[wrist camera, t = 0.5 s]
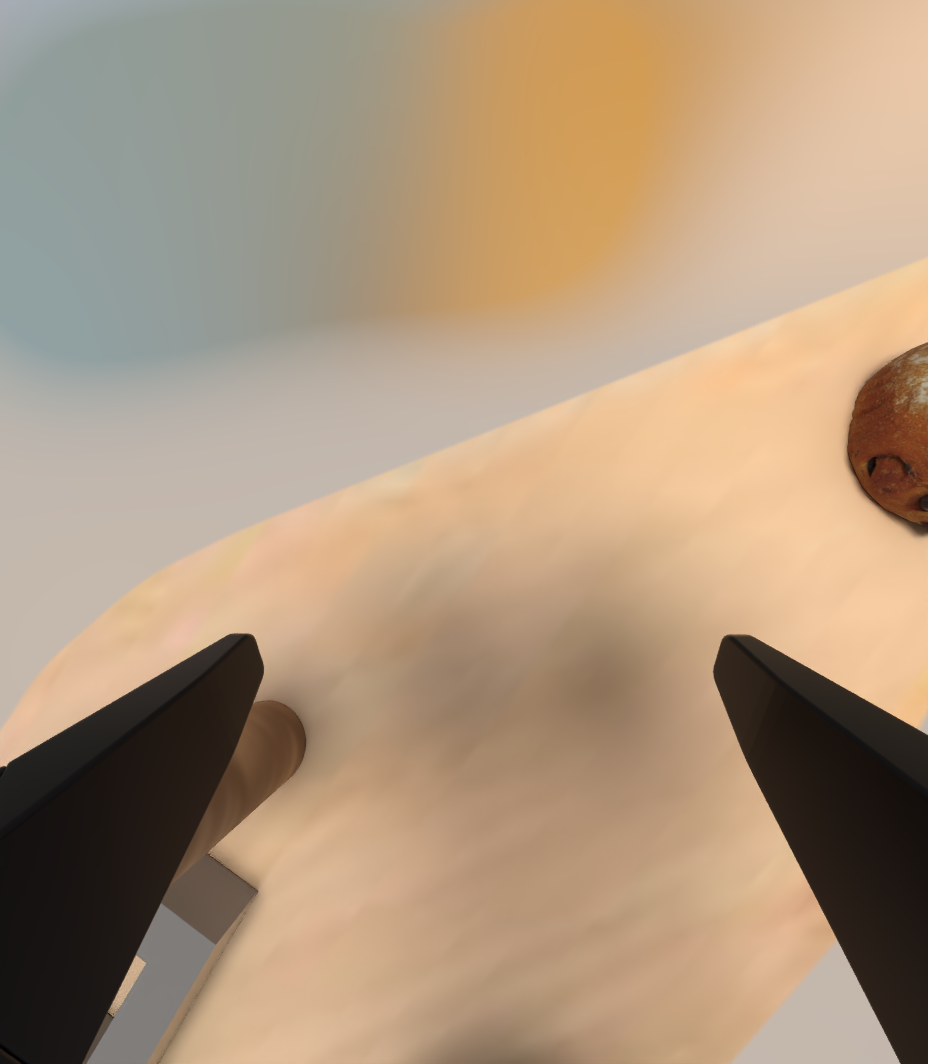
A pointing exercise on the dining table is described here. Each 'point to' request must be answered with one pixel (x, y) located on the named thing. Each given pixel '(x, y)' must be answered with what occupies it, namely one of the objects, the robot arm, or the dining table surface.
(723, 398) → the dining table surface
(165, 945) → the grey square frame
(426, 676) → the dining table surface
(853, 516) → the dining table surface
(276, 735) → the post
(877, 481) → the bread roll
